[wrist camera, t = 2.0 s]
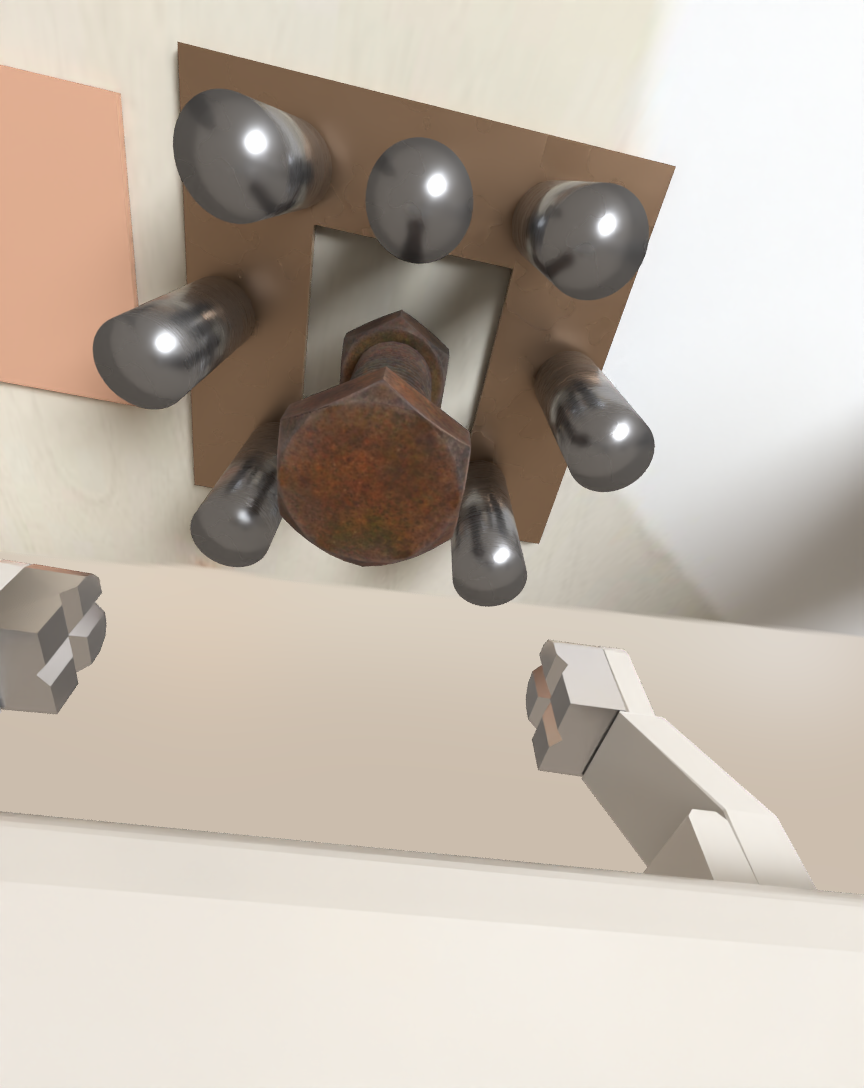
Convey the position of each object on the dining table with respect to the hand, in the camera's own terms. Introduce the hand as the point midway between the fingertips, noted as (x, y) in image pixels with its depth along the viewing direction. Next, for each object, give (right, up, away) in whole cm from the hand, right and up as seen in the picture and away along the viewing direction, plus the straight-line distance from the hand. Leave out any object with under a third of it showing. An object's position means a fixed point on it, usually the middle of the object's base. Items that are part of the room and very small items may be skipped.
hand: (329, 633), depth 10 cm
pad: (-18, +15, +15) cm, 28 cm away
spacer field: (0, +11, +17) cm, 21 cm away
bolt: (0, +12, +17) cm, 21 cm away
